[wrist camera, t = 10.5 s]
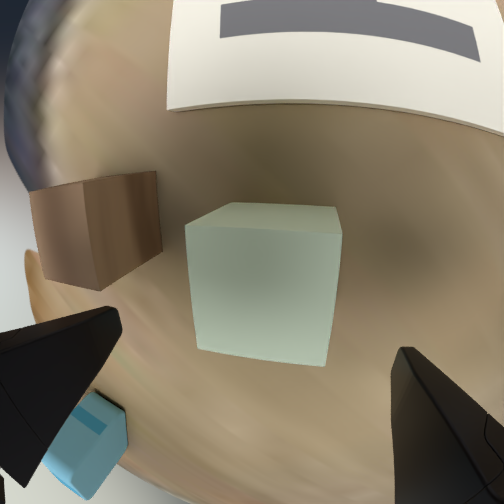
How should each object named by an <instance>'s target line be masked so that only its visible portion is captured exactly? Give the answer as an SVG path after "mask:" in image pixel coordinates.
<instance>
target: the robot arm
mask: <svg viewBox="0 0 504 504" xmlns="http://www.w3.org/2000/svg"><path fill="white" fill-rule="evenodd" d="M121 334H122V325H121V321H120V317H119V313H118V310H117V309H116V308H114V307H110V306H104V307H100V308H96V309H92V310H88V311H85V312H81V313H77V314H73V315H70V316H66V317H62V318H58V319H54V320H50V321H46V322H43V323H39V324H35V325H31V326H27V327H23V328H19V329H15V330H11V331H7V332H2V333H0V468H2V469H3V470H4V471H5V472H6V473H8V474H9V475H10V476H11V477H12V478H13V479H14V480H15V481H16V482H18V483H19V484H20V485H21V486H22V487H23V488H25V487H26V486H27V485H28V483H29V481H30V479H31V478H32V476H33V474H34V472H35V471H36V469H37V467H38V465H39V464H40V462H41V460H42V459H43V457H44V455H45V454H46V452H47V450H48V448H49V447H50V445H51V444H52V442H53V440H54V439H55V437H56V436H57V434H58V432H59V431H60V429H61V428H62V426H63V425H64V423H65V421H66V420H67V418H68V417H69V415H70V414H71V412H72V411H73V409H74V408H75V406H76V405H77V403H78V402H79V400H80V399H81V397H82V396H83V394H84V393H85V391H86V390H87V389H88V387H89V386H90V384H91V383H92V381H93V380H94V378H95V377H96V376H97V374H98V373H99V371H100V370H101V368H102V367H103V365H104V364H105V362H106V360H107V358H108V357H109V355H110V353H111V351H112V350H113V348H114V346H115V345H116V343H117V341H118V339H119V338H120V336H121ZM391 428H392V439H393V453H394V474H395V504H504V427H503V426H502V425H501V424H500V423H499V422H497V421H496V420H495V419H494V418H493V417H492V416H491V415H490V414H487V411H485V410H484V409H483V408H482V407H481V406H480V405H479V404H478V403H477V402H476V401H475V400H473V399H472V398H471V397H470V396H469V395H468V394H467V393H466V392H465V391H463V390H462V389H461V388H460V387H459V386H458V385H457V384H456V383H454V382H453V381H452V380H451V379H450V378H449V377H448V376H447V375H445V374H444V373H443V372H442V371H441V370H440V369H439V368H437V367H436V366H435V365H434V364H433V363H432V362H430V361H429V360H428V359H427V358H426V357H425V356H424V355H422V354H421V353H420V352H419V351H418V350H417V349H415V348H414V347H400V348H399V350H398V352H397V355H396V358H395V361H394V364H393V367H392V370H391ZM0 504H5V492H4V478H3V477H2V476H1V474H0Z"/></svg>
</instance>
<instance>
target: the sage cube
mask: <svg viewBox="0 0 504 504" xmlns="http://www.w3.org/2000/svg"><path fill="white" fill-rule="evenodd" d="M342 235H343V234H342V229H341V225H340V221H339V217H338V213H337V209H336V207H328V206H312V205H293V204H271V203H239V202H231V203H229V204H227V205H225V206H223V207H221V208H218V209H216V210H214V211H212V212H210V213H208V214H206V215H204V216H202V217H200V218H198V219H196V220H194V221H192V222H190V223H188V224H186V225H185V237H186V250H187V262H188V272H189V282H190V292H191V301H192V310H193V318H194V326H195V333H196V341H197V348H198V349H202V350H207V351H213V352H218V353H223V354H229V355H235V356H241V357H247V358H254V359H260V360H268V361H275V362H283V363H292V364H301V365H311V366H323V367H325V363H326V357H327V352H328V346H329V340H330V334H331V328H332V322H333V315H334V308H335V301H336V293H337V285H338V276H339V267H340V258H341V247H342Z"/></svg>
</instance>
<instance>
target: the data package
mask: <svg viewBox="0 0 504 504" xmlns="http://www.w3.org/2000/svg"><path fill="white" fill-rule="evenodd" d="M127 445H128V441H127V431H126V418H125V412H124V411H123V410H121V409H119V408H118V407H116V406H115V405H113V404H112V403H110V402H109V401H107V400H105V399H104V398H103V397H101V396H100V395H98V394H97V393H95V392H91V393H89V394H88V395H87V396H86V397H85V398H84V399H83V400H82V401H81V402H80V403H79V404H78V405H77V406H76V407H75V408H74V410H73V411H72V412H71V414H70V415H69V417H68V418H67V420H66V421H65V423H64V425H63V426H62V428H61V429H60V431H59V432H58V434H57V436H56V437H55V439H54V440H53V442H52V444H51V445H50V447H49V448H48V450H47V452H46V454H45V455H44V457H43V459H42V460H41V461H42V462H43V464H44V465H45V466H46V467H47V468H48V469H49V470H50V471H51V472H52V474H53V475H54V476H55V477H56V478H57V479H58V480H59V481H60V482H61V483H63V484H64V485H65V486H66V487H68V488H69V489H70V490H72V491H73V492H74V493H76V494H77V495H79V496H80V497H82V498H83V499H84V500H89V499H91V498H92V497H93V495H94V494H95V493H96V491H97V490H98V489H99V487H100V486H101V484H102V483H103V481H104V480H105V479H106V477H107V476H108V475H109V473H110V472H111V470H112V469H113V468H114V466H115V465H116V463H117V462H118V461H119V459H120V458H121V456H122V455H123V453H124V452H125V450H126V448H127Z"/></svg>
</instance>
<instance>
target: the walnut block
mask: <svg viewBox="0 0 504 504" xmlns="http://www.w3.org/2000/svg"><path fill="white" fill-rule="evenodd" d="M29 195H30V204H31V212H32V219H33V225H34V231H35V237H36V241H37V247H38V252H39V256H40V261H41V265H42V269H43V273H44V277H45V279H48V280H52V281H56V282H60V283H65V284H69V285H73V286H78V287H82V288H87V289H91V290H96V291H102V290H103V289H105V288H106V287H108V286H109V285H111V284H112V283H114V282H115V281H117V280H118V279H120V278H121V277H123V276H125V275H126V274H128V273H129V272H131V271H132V270H134V269H136V268H137V267H139V266H140V265H142V264H143V263H145V262H147V261H148V260H150V259H151V258H153V257H155V256H156V255H158V254H159V253H161V252H163V249H162V240H161V231H160V221H159V210H158V197H157V183H156V171H149V172H140V173H131V174H122V175H115V176H107V177H100V178H94V179H88V180H83V181H78V182H73V183H68V184H63V185H58V186H54V187H49V188H45V189H41V190H36V191H32V192H29Z"/></svg>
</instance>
